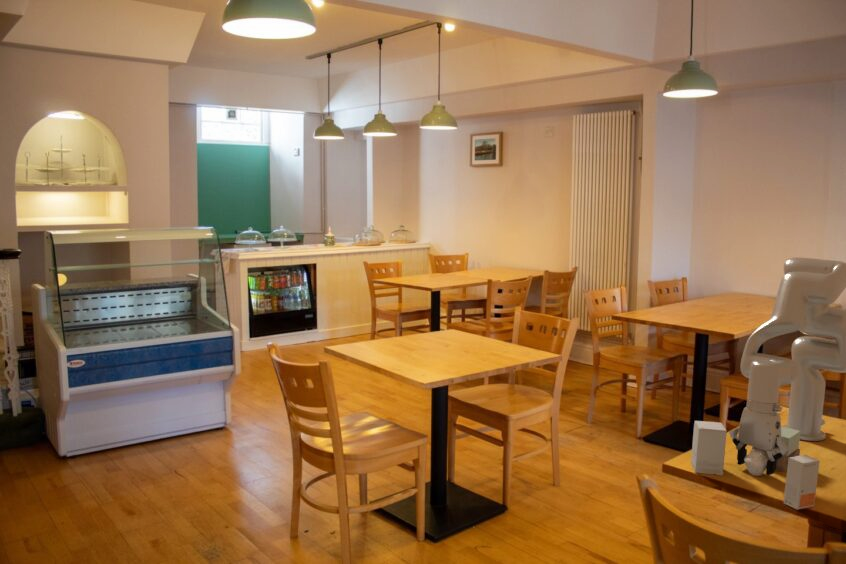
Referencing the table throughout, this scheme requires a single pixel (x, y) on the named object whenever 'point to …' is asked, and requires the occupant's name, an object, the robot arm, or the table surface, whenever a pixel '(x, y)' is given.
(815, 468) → the skincare box
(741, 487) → the table surface
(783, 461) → the bottom block
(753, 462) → the muffin
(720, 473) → the supplement box
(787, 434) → the top block
